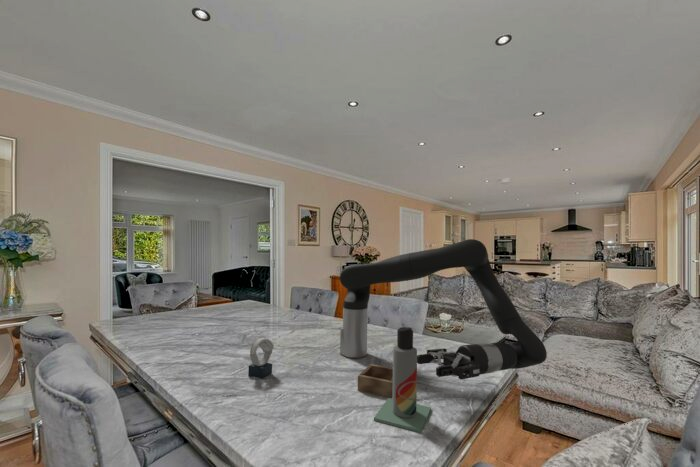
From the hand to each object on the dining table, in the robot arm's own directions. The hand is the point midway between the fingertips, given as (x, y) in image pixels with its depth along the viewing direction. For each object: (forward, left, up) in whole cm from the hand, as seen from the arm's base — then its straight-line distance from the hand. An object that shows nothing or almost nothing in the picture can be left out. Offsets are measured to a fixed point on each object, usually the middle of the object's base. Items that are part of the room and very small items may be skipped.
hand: (426, 365), depth 79 cm
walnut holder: (-15, +8, -11) cm, 20 cm away
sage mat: (-5, -4, -11) cm, 13 cm away
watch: (-51, -1, -11) cm, 52 cm away
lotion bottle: (-4, -4, -11) cm, 12 cm away
